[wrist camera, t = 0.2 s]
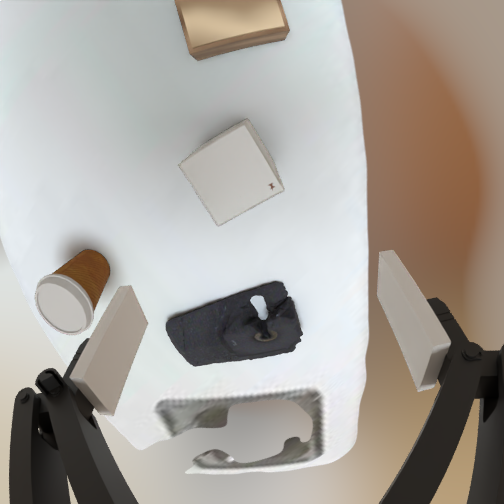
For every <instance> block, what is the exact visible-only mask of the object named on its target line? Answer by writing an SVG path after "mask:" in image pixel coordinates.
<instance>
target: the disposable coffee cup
mask: <svg viewBox="0 0 504 504" xmlns="http://www.w3.org/2000/svg"><path fill="white" fill-rule="evenodd" d="M109 275H110V267H109V264H108V262H107V260H106V259H105V258H104V257H103V256H102V255H101V254H100V253H98V252H97V251H94V250H84V251H82V252H81V253H80V254H78V255H77V256H75V257H74V258H73V259H71V260H70V261H68V262H67V263H66V264H64V265H63V266H62V267H60V268H59V269H58V270H56V271H55V272H54V273H52V274H50V275H47V276H45V277H43V278H42V279H41V280H40V281H39V282H38V285H37V289H36V293H35V303H36V307H37V309H38V311H39V313H40V315H41V316H42V318H43V319H44V320H45V321H46V322H47V324H49V325H50V326H51V327H52V328H54V329H55V330H57V331H59V332H61V333H63V334H67V335H77V334H80V333H81V332H83V331H85V330H87V329H88V328H89V327H90V326H91V324H92V322H93V318H94V317H93V314H94V310H95V308H96V305H97V303H98V301H99V298H100V296H101V294H102V291H103V289H104V286H105V284H106V282H107V279H108V278H109Z"/></svg>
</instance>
